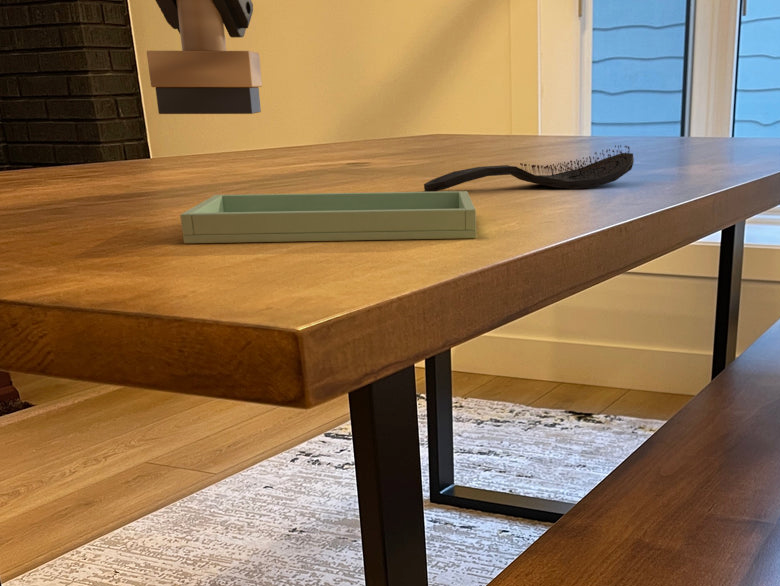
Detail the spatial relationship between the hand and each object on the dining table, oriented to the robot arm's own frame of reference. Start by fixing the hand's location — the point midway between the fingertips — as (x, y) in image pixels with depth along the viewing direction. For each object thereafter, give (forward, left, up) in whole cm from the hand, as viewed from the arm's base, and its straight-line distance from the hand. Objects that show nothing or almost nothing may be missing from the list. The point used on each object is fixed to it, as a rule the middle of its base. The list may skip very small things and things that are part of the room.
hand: (216, 26), depth 62 cm
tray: (+6, +13, -14) cm, 20 cm away
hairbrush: (+25, +44, -14) cm, 53 cm away
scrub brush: (-1, -2, -5) cm, 5 cm away
